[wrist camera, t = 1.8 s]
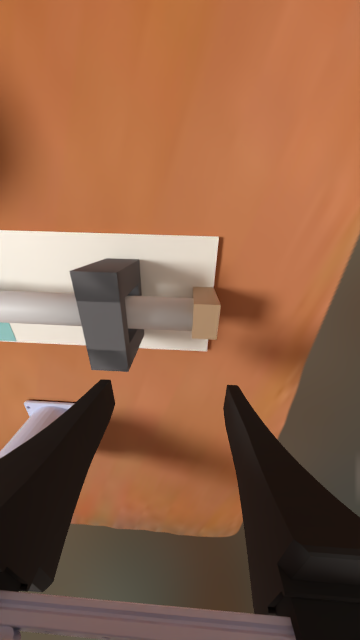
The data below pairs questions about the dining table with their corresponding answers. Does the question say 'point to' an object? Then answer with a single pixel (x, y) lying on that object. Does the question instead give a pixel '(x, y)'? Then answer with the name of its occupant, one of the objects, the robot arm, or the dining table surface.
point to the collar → (108, 311)
